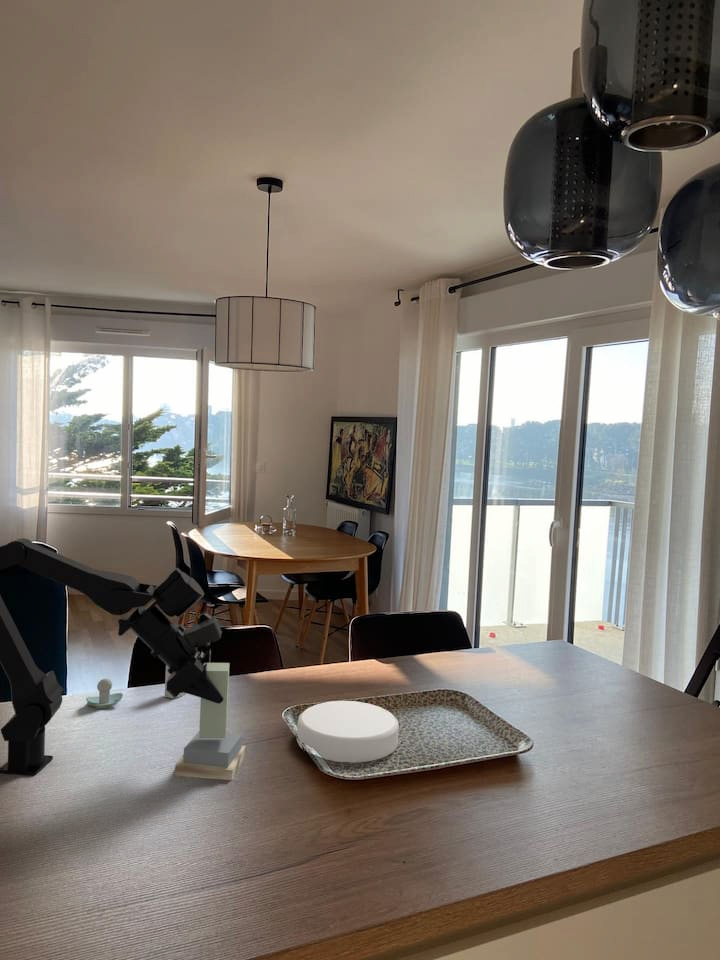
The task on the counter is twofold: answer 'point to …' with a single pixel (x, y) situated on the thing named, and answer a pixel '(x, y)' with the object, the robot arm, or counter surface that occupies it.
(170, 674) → the eye dropper bottle
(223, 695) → the pillar block
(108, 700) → the pacifier
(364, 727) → the container
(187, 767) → the tower base
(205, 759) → the tower middle
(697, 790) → the counter surface
